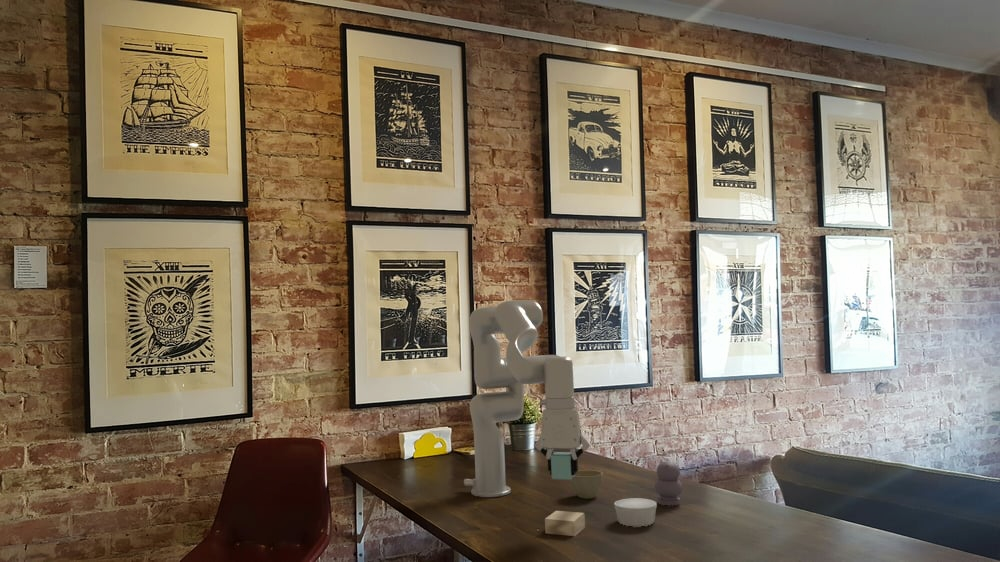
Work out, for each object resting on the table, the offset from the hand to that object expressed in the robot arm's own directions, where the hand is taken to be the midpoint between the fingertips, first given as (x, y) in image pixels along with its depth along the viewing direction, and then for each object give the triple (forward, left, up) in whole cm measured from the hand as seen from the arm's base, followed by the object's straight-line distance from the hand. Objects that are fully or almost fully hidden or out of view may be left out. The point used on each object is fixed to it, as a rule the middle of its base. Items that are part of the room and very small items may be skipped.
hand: (563, 473), depth 193 cm
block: (0, 0, -1) cm, 1 cm away
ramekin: (+17, +10, -15) cm, 25 cm away
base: (0, 0, -15) cm, 15 cm away
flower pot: (-1, +35, -15) cm, 38 cm away
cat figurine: (+24, +31, -15) cm, 42 cm away
